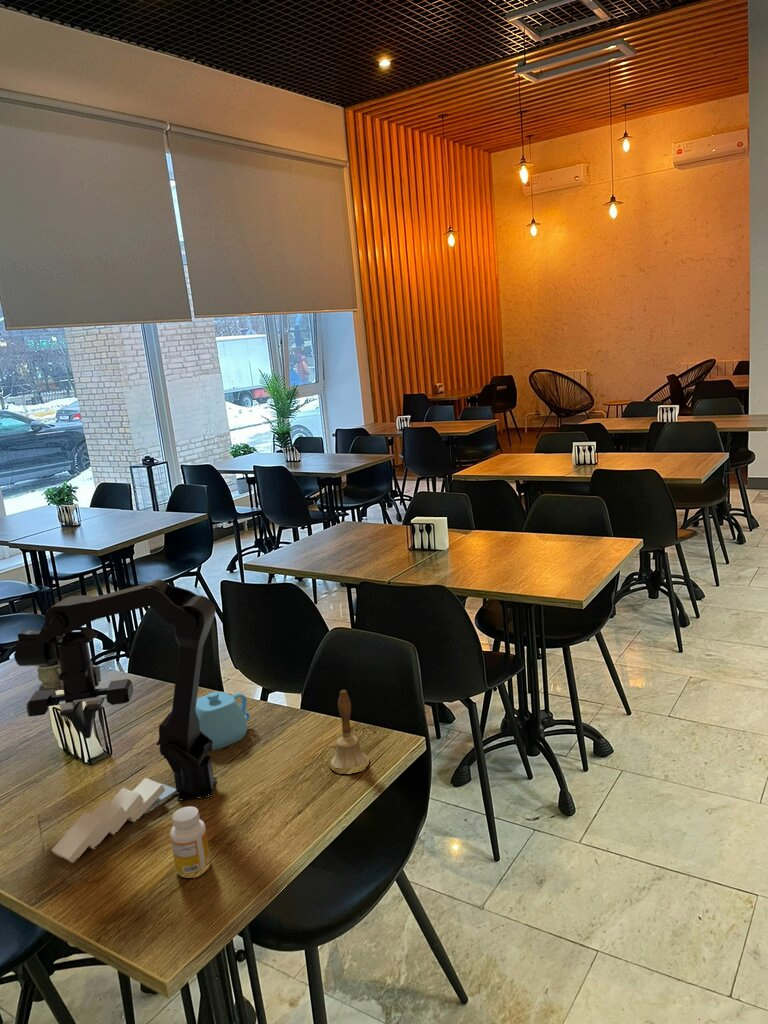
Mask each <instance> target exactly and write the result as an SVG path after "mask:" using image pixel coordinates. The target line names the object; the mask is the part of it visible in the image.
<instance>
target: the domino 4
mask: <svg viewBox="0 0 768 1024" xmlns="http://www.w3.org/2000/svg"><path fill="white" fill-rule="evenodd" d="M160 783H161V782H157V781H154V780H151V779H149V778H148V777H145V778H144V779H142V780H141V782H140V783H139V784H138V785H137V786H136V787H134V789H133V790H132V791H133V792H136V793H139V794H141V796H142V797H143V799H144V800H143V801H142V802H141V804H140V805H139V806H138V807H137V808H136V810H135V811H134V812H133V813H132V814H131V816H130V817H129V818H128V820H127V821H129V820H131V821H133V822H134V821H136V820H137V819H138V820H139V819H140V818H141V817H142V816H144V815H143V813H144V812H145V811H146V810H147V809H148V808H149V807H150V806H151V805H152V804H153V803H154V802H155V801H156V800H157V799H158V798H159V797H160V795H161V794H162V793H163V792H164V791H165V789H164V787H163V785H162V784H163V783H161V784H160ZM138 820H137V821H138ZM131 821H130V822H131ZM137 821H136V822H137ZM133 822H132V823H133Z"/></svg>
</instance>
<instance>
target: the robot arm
mask: <svg viewBox="0 0 768 1024" xmlns="http://www.w3.org/2000/svg"><path fill="white" fill-rule="evenodd" d="M147 607H149V608H151V609H153V610H154V611H155V612H156V613H157V614H158V615H159V616H160V617H161V618H162V620H164V621H165V622H166V623H169V624H171V625H173V626H174V627H173V629H174V637H175V639H176V642H177V645H178V654H177V663H176V672H175V680H174V683H175V684H174V690H173V700H172V707H171V708H172V709H171V711H172V712H168V714H167V715H166V717H165V718H164V719H163V720H162V722H161V723H160V724H159V726H158V741H157V743H156V746H159V753H160V755H161V756H163V758H164V759H165V760H166V762H167V763H168V765H169V767H170V768H171V770H172V772H173V778H174V784H175V789H176V792H177V793H178V794H177V797H176V798H177V800H178V799H179V800H178V801H181V800H180V799H187V800H190V799H189V798H197V797H206V796H207V798H209V797H208V796H210V795H211V794H212V795H213V792H214V789H213V787H214V788H215V786H214V784H215V785H216V783H215V781H217V777H216V776H214V772H213V764H212V759H211V758H212V757H211V755H208V754H210V752H211V751H212V750H211V749H212V745H213V741H212V740H211V739H210V738H208V737H207V736H206V735H205V734H203V733H202V732H201V731H200V726H199V719H198V716H197V714H196V702H197V699H198V695H199V694H198V693H199V692H198V691H199V684H200V676H201V670H202V669H201V668H202V662H203V661H202V658H203V652H204V645H205V642H206V640H207V637H208V634H209V632H210V630H211V628H212V625H213V622H214V618H215V615H216V606H215V603H213V601H212V600H211V599H210V598H209V597H207V596H204V595H198V594H196V593H195V592H193V591H191V590H189V589H186V588H182V587H178V586H175V585H172V584H170V583H169V582H167V581H165V580H162V579H154V580H152V581H150V582H147V583H144V584H140V585H136V586H132V587H128V588H124V589H120V590H116V591H112V592H110V593H104V594H100V595H95V596H93V595H92V596H91V595H87V594H85V595H72V596H68V597H65V598H63V599H62V600H60V601H59V602H57V603H55V604H54V605H52V606H51V607H49V608H48V609H47V610H46V612H45V615H44V624H43V625H42V628H41V630H30V629H25V630H22V631H21V632H19V633H18V634H17V638H18V639H17V642H16V645H15V648H14V653H13V656H14V661H15V662H16V664H17V666H20V667H36V666H40V665H51V664H53V663H54V661H55V659H57V658H58V663H59V669H60V675H59V678H60V681H61V680H62V691H63V693H61V694H59V693H58V694H57V692H56V690H55V688H50V689H45V690H38V691H35V692H34V693H33V694H32V696H31V698H29V700H28V701H27V703H26V712H27V716H28V717H29V718H31V717H37V716H38V717H39V716H45V715H46V714H47V712H48V711H49V709H50V707H53V706H59V707H60V712H59V715H60V717H66V718H67V719H68V720H69V721H70V722H71V723H72V724H73V725H74V726H75V727H76V728H77V730H78V731H79V733H81V735H82V736H83V737H84V738H85V739H91V738H92V733H93V728H94V727H93V726H94V720H95V717H96V712H98V711H100V709H101V707H102V705H103V704H104V701H105V699H106V702H107V703H108V704H110V705H111V706H114V705H115V706H116V705H122V704H127V703H129V702H130V701H131V698H132V696H133V693H134V685H133V684H134V683H133V681H131V680H130V679H129V678H125V679H117V680H112V681H110V683H109V685H108V687H104V688H102V687H100V688H96V687H98V686H99V685H100V682H102V678H101V666H100V665H98V666H96V665H95V666H94V663H93V660H91V654H90V649H89V643H90V642H91V641H93V640H94V639H95V638H96V637H98V635H99V634H98V633H97V632H96V631H94V630H92V629H90V628H89V627H88V626H86V625H87V624H90V623H91V622H94V621H95V620H99V619H103V618H106V617H107V618H108V617H110V616H115V615H119V614H123V613H126V612H130V611H134V610H135V611H136V610H138V609H143V608H147ZM84 626H85V627H84ZM82 627H84V628H82ZM80 628H82V629H81V630H78V631H77V629H80ZM75 630H76V631H75ZM83 702H84V703H85V704H86V705H85V706H83ZM212 791H213V792H212ZM208 794H209V795H208ZM197 799H198V798H197Z"/></svg>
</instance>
